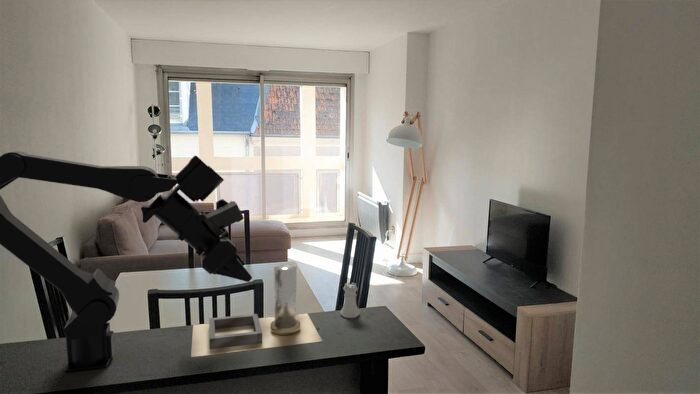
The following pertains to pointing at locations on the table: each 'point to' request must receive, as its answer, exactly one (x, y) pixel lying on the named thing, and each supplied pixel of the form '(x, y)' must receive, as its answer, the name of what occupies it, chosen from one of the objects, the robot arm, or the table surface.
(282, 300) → the grey rounded piece
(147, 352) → the table surface
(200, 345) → the carrier board
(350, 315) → the rook chess piece
